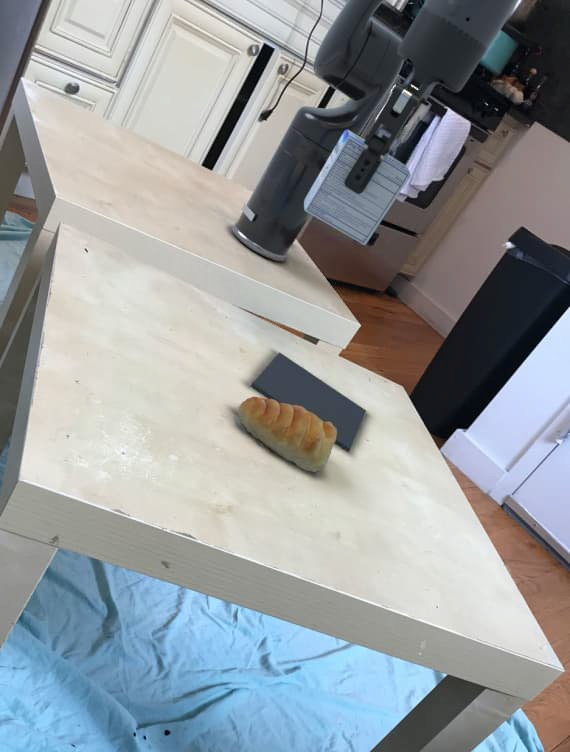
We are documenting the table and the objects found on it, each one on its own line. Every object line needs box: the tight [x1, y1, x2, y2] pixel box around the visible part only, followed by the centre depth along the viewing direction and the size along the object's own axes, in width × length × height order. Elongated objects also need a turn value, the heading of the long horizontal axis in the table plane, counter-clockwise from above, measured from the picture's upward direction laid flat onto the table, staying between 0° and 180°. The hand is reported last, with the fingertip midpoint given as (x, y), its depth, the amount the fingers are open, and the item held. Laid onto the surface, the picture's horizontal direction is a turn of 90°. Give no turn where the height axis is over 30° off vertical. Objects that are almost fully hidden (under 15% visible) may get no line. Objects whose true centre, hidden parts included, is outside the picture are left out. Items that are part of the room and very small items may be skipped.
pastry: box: [237, 396, 337, 473], centre depth 69 cm, size 9×7×4 cm
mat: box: [250, 352, 367, 452], centre depth 81 cm, size 12×12×1 cm
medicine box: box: [304, 130, 412, 246], centre depth 80 cm, size 8×4×9 cm, turn 84°
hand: (356, 187), depth 80 cm, fingers closed on medicine box, 5 cm apart
